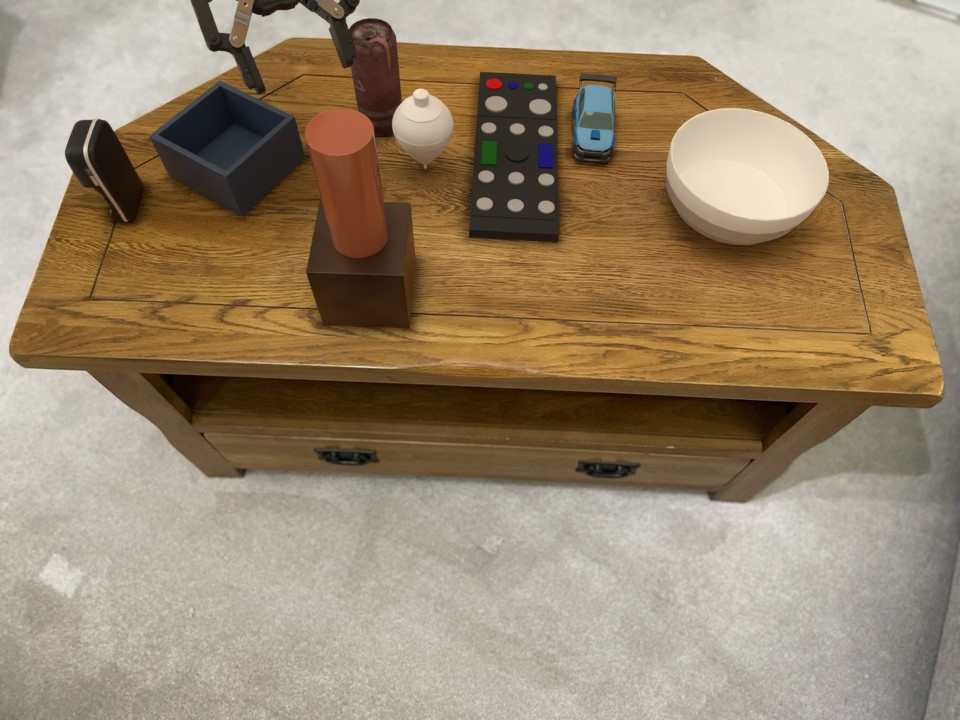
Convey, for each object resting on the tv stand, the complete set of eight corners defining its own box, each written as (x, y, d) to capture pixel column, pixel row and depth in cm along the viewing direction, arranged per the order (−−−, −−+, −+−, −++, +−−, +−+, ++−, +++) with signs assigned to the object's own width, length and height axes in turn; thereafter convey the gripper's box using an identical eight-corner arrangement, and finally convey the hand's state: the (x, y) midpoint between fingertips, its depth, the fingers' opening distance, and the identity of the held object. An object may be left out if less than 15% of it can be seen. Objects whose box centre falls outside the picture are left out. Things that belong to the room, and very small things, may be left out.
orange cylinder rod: (365, 267, 68) (345, 165, 56) (319, 242, 70) (290, 137, 58) (399, 229, 71) (387, 124, 59) (354, 206, 72) (333, 99, 60)
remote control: (554, 84, 99) (556, 72, 97) (557, 242, 84) (559, 231, 82) (479, 80, 99) (480, 68, 97) (469, 237, 84) (469, 226, 82)
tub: (242, 216, 84) (225, 177, 78) (169, 176, 87) (148, 136, 82) (305, 157, 90) (294, 116, 84) (235, 122, 93) (219, 80, 87)
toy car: (569, 164, 90) (575, 131, 85) (571, 105, 96) (577, 71, 91) (612, 168, 90) (620, 135, 85) (611, 109, 96) (620, 75, 91)
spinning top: (386, 161, 90) (377, 85, 79) (435, 140, 92) (432, 64, 82) (414, 197, 87) (408, 123, 76) (464, 175, 89) (465, 100, 78)
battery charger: (115, 184, 87) (71, 112, 77) (145, 183, 87) (104, 111, 77) (103, 225, 83) (54, 155, 73) (134, 224, 83) (90, 154, 73)
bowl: (817, 197, 89) (850, 146, 81) (766, 292, 80) (797, 246, 73) (687, 140, 93) (707, 88, 86) (627, 225, 85) (643, 175, 78)
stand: (323, 325, 76) (305, 272, 68) (334, 257, 81) (319, 199, 73) (409, 328, 77) (403, 275, 68) (415, 259, 82) (410, 202, 73)
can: (385, 144, 91) (374, 53, 79) (351, 124, 93) (335, 32, 81) (413, 121, 94) (407, 29, 82) (380, 102, 96) (368, 9, 84)
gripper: (141, -119, 51) (232, 94, 56) (315, -156, 55) (385, 48, 60) (151, -79, 58) (231, 108, 63) (304, -114, 62) (368, 66, 67)
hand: (306, 79), depth 62 cm, fingers open, 8 cm apart
